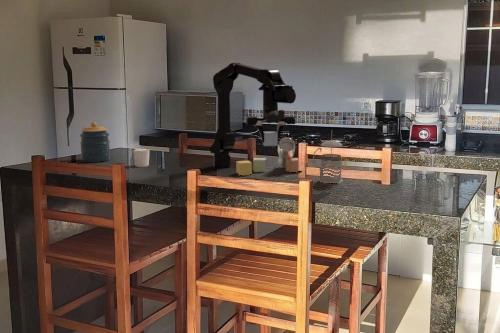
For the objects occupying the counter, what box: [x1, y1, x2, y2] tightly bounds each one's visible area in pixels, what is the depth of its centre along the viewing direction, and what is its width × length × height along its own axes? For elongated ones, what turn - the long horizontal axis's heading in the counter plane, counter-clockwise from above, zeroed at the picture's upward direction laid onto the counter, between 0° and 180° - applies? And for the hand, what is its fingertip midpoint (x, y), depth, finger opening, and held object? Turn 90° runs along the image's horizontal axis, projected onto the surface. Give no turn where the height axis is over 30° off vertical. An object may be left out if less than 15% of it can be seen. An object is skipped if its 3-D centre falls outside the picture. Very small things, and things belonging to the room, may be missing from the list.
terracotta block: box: [285, 157, 299, 173], centre depth 227 cm, size 5×5×5 cm
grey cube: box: [262, 130, 279, 147], centre depth 218 cm, size 5×5×5 cm
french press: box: [312, 114, 344, 184], centre depth 207 cm, size 10×12×25 cm
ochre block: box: [235, 160, 253, 176], centre depth 222 cm, size 5×5×5 cm
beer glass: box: [277, 136, 296, 169], centre depth 230 cm, size 7×7×15 cm
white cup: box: [132, 148, 150, 168], centre depth 241 cm, size 7×7×7 cm
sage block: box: [252, 157, 267, 173], centre depth 229 cm, size 5×5×5 cm
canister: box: [79, 121, 111, 163], centre depth 253 cm, size 13×13×18 cm
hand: (270, 142), depth 218 cm, fingers closed on grey cube, 5 cm apart
